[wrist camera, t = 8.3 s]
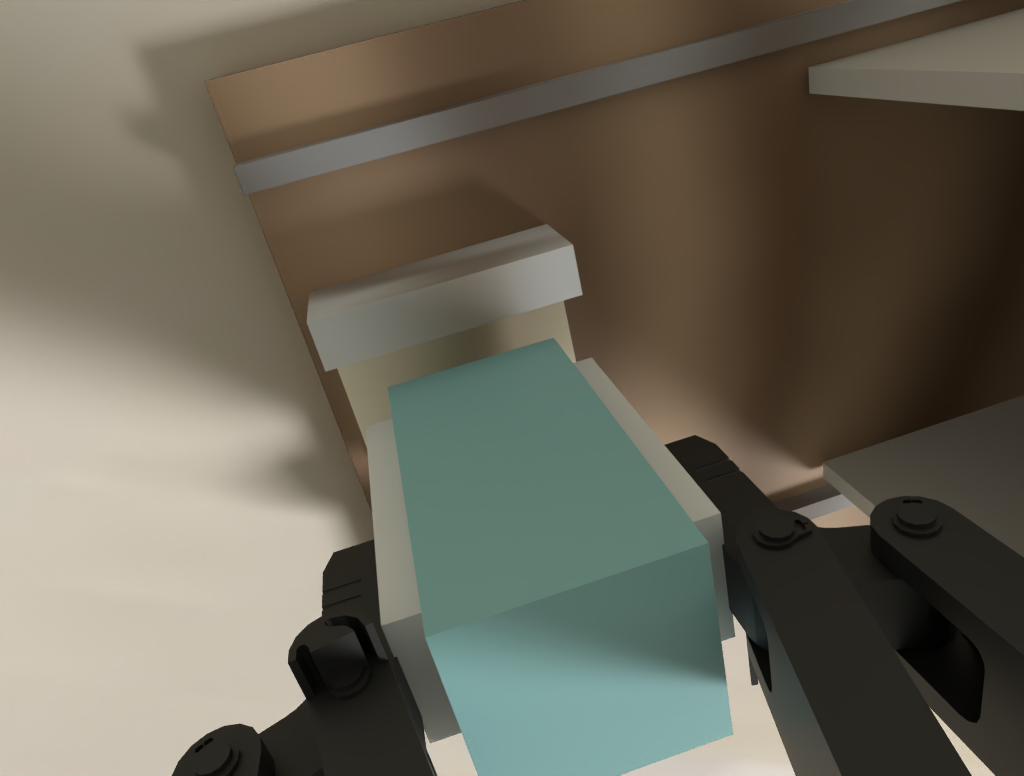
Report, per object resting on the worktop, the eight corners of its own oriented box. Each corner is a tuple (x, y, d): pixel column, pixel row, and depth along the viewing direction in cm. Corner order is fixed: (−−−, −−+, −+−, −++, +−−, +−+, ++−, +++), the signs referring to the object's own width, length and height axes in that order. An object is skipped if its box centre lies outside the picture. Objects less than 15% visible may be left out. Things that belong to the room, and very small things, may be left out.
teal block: (434, 524, 18) (495, 820, 11) (387, 387, 17) (425, 637, 10) (583, 476, 19) (733, 734, 12) (553, 337, 17) (708, 542, 10)
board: (431, 649, 24) (445, 733, 21) (212, 79, 16) (186, 85, 13) (1061, 433, 27) (1153, 481, 24) (1144, -157, 19) (1300, -198, 16)
